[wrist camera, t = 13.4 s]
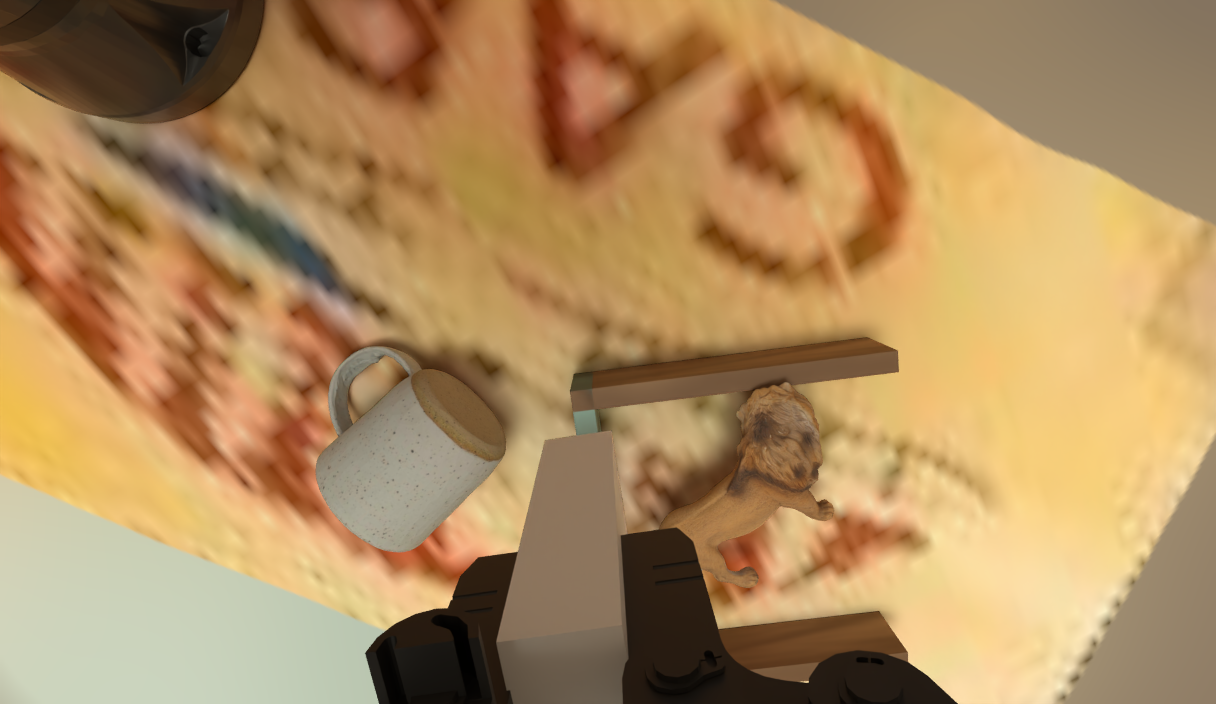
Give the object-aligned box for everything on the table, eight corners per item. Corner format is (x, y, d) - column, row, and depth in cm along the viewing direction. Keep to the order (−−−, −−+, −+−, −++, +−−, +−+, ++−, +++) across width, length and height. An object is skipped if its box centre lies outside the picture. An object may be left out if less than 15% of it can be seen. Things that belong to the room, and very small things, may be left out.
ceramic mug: (524, 429, 38) (502, 477, 31) (437, 514, 40) (395, 580, 32) (398, 310, 37) (343, 329, 29) (311, 401, 38) (236, 443, 31)
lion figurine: (816, 422, 40) (753, 352, 34) (881, 470, 36) (821, 398, 30) (666, 587, 40) (580, 544, 35) (712, 653, 36) (622, 616, 31)
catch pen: (574, 374, 38) (570, 391, 34) (867, 337, 37) (898, 350, 33) (614, 657, 42) (615, 702, 38) (879, 627, 41) (908, 669, 37)
